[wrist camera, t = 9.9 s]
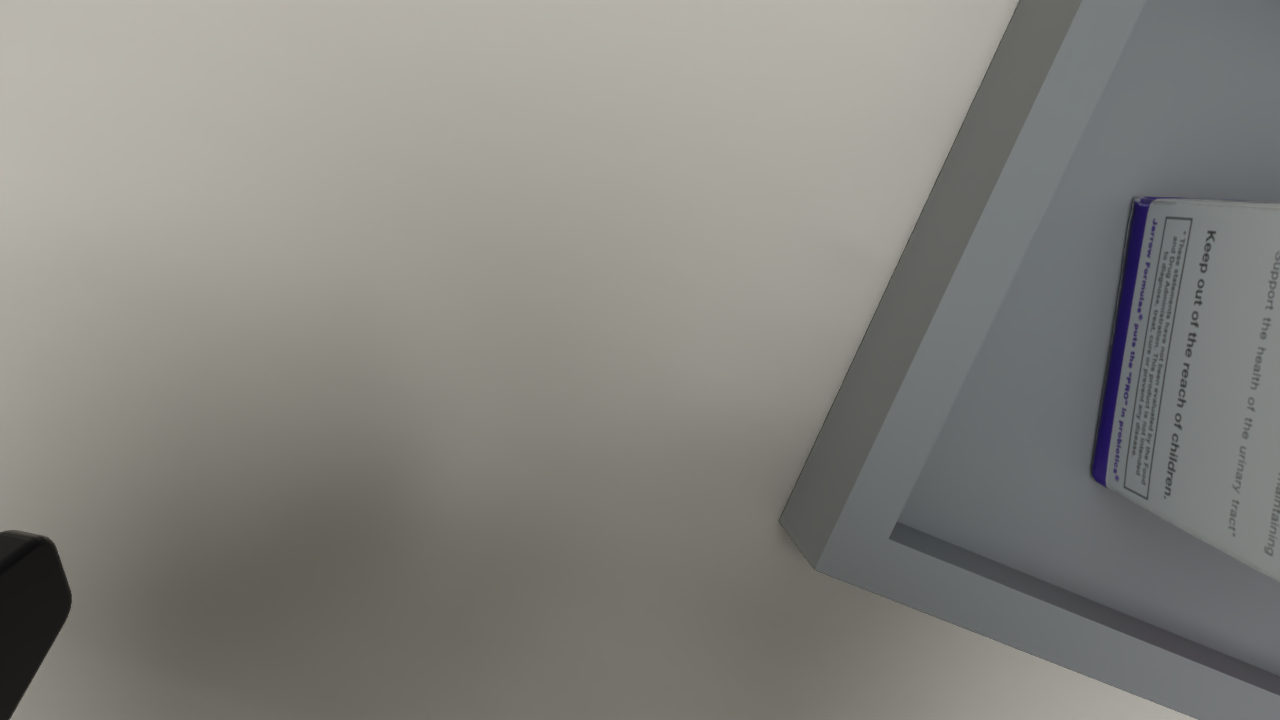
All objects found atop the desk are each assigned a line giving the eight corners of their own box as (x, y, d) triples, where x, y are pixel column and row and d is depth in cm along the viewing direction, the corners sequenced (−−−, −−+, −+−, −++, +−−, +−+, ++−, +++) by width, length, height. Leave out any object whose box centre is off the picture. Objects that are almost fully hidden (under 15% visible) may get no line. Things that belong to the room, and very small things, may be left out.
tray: (1337, 742, 22) (1442, 814, 19) (778, 521, 20) (814, 569, 17) (1660, 156, 20) (1820, 151, 18) (1092, -156, 18) (1182, -213, 16)
